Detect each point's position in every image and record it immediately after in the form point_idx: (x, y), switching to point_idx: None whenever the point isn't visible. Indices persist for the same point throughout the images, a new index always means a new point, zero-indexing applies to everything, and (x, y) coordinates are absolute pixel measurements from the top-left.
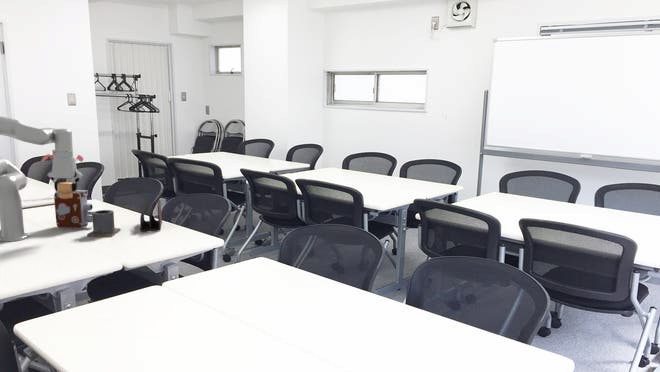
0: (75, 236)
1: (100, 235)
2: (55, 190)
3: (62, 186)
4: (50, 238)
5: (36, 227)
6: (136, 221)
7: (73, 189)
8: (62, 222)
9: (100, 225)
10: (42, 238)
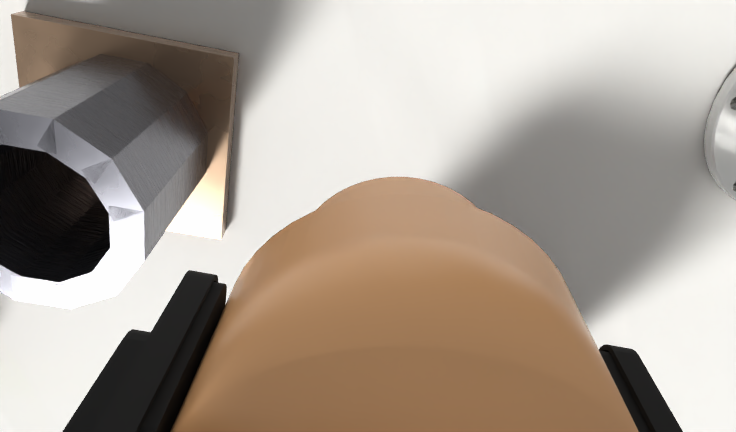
0: (339, 84)
1: (118, 33)
2: (632, 352)
3: (448, 303)
4: (528, 56)
5: (655, 372)
6: (46, 405)
7: (173, 297)
8: None
9: (80, 75)
10: (591, 68)
